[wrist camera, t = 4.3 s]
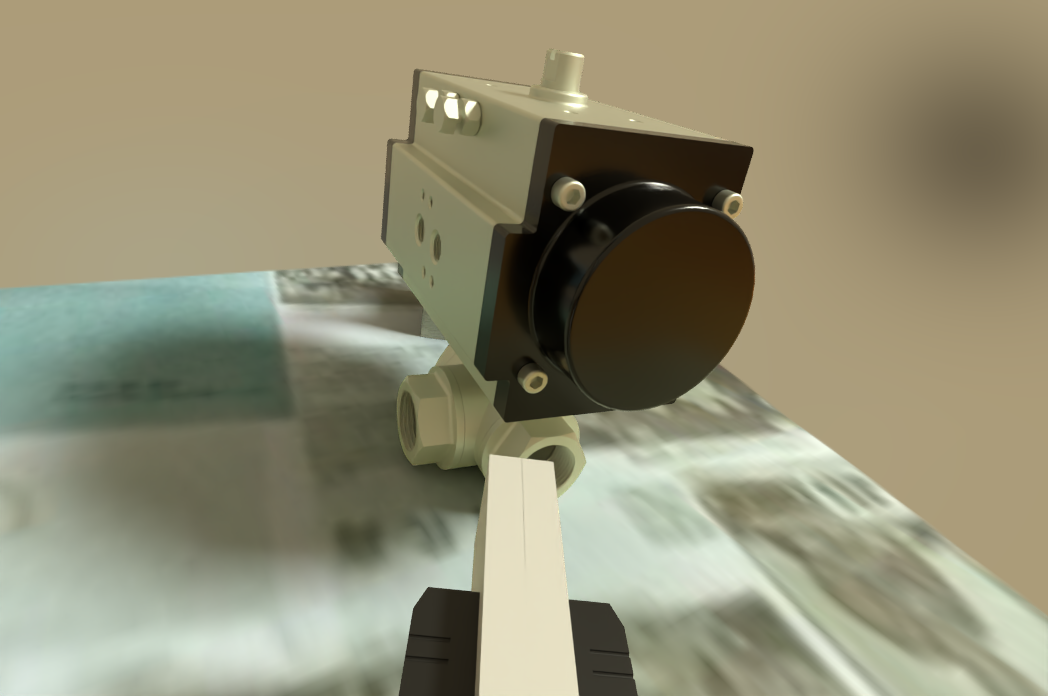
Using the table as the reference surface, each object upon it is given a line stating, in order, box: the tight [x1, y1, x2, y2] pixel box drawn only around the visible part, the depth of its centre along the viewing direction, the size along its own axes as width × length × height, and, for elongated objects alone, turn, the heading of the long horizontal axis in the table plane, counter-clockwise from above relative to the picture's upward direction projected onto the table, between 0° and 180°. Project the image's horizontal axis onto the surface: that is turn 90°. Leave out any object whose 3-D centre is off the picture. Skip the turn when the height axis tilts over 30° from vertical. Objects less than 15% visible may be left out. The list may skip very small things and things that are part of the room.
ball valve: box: [381, 49, 755, 498], centre depth 26 cm, size 18×8×18 cm, turn 25°
